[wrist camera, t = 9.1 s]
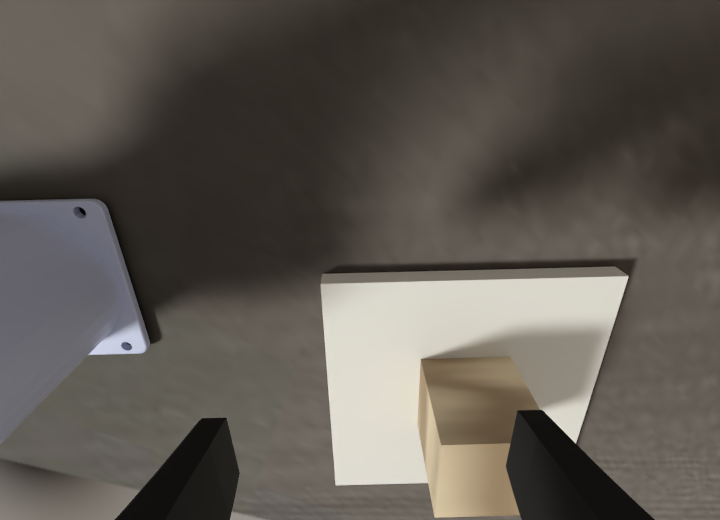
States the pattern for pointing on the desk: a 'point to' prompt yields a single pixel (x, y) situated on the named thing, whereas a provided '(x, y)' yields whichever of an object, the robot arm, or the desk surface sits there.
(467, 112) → the desk surface
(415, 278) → the board
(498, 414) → the oak block
